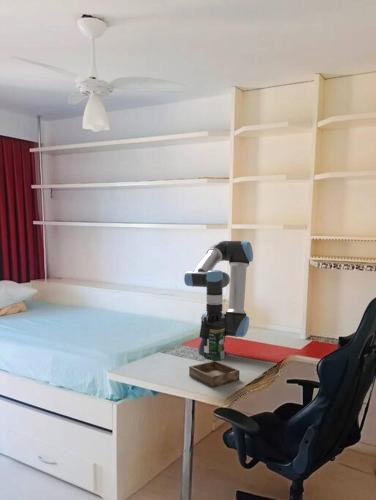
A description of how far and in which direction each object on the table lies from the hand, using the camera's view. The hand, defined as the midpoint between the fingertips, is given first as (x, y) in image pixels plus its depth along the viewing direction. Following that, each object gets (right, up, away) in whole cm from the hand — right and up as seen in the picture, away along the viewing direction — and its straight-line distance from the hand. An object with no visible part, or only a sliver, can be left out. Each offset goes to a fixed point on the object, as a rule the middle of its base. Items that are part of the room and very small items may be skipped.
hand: (214, 350), depth 191 cm
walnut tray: (0, -13, +1) cm, 13 cm away
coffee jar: (0, -4, 0) cm, 4 cm away
